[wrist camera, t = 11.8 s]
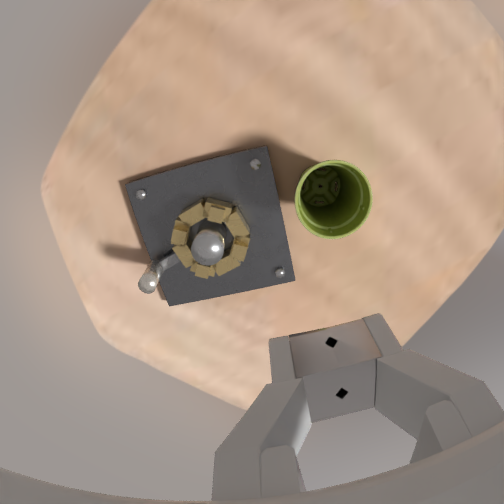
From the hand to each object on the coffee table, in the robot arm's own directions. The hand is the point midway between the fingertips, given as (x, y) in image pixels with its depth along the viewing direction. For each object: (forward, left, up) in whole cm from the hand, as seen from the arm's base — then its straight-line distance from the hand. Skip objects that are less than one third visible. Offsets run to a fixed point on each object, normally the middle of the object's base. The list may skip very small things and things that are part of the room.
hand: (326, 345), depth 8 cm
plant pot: (+5, +7, -37) cm, 38 cm away
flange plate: (+8, -9, -37) cm, 39 cm away
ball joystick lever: (+9, -12, -35) cm, 38 cm away
